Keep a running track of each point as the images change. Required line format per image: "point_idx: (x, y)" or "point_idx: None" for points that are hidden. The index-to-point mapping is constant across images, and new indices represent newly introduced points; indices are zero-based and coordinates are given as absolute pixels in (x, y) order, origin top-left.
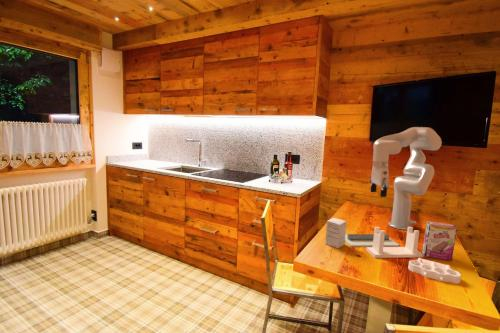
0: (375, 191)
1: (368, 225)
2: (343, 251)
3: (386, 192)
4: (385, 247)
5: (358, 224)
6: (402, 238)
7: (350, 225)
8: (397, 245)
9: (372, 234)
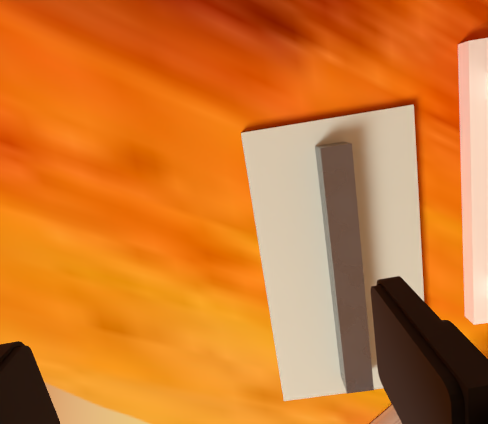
0: (27, 361)
1: (62, 166)
2: None
3: (444, 330)
4: (477, 220)
5: (61, 231)
6: (278, 13)
7: (96, 290)
8: (412, 116)
9: (338, 250)
